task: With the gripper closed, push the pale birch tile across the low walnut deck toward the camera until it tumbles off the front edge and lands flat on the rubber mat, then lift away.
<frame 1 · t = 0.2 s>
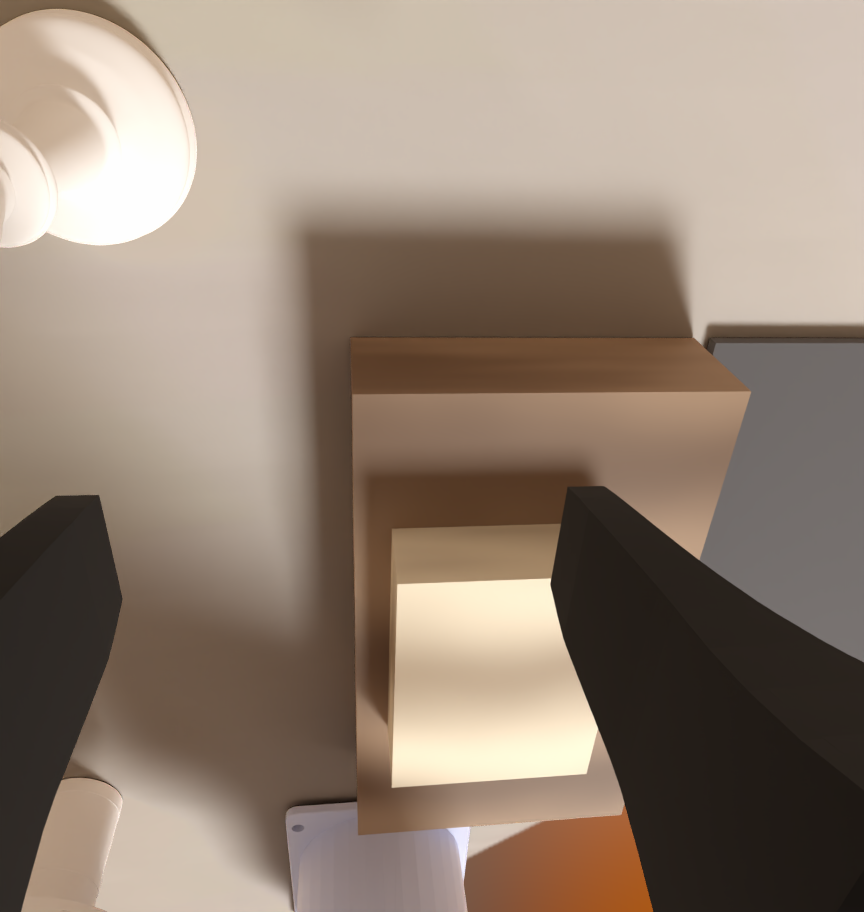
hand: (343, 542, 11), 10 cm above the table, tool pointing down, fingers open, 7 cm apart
birch tile: (489, 632, 22), point 3 cm above the table, touching walnut deck
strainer: (84, 796, 29), on the table
walnut deck: (497, 578, 25), on the table
chess piece: (89, 132, 17), on the table
rubber mat: (785, 567, 27), on the table
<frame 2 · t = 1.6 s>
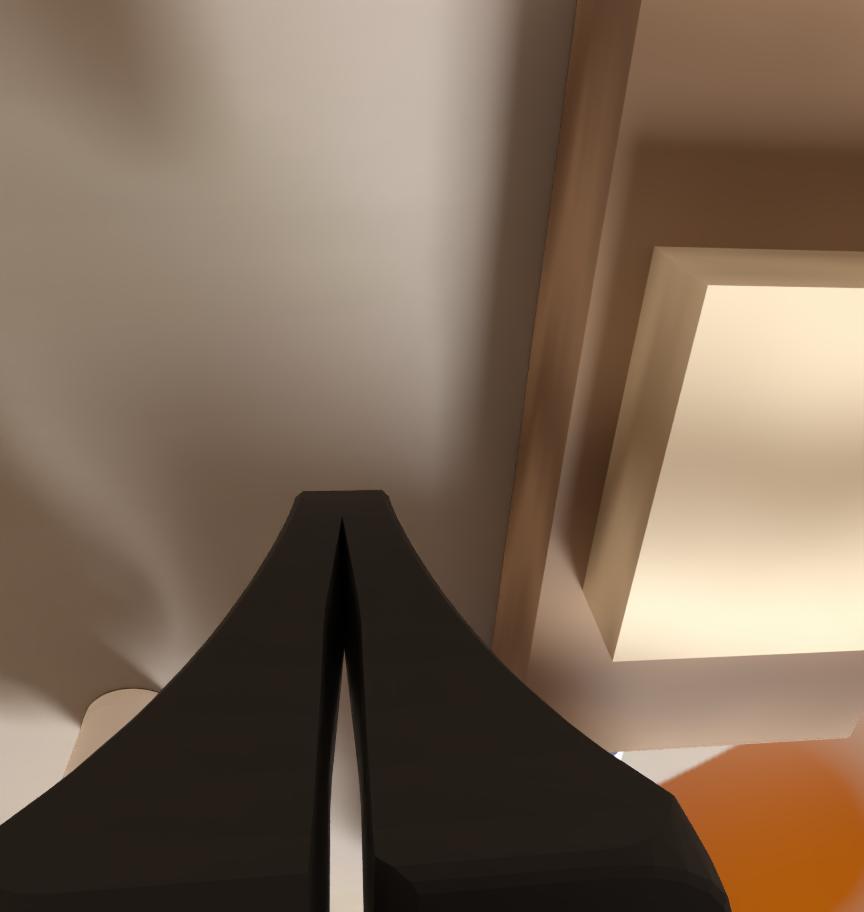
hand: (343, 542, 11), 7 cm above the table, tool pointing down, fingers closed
birch tile: (750, 441, 15), point 3 cm above the table, touching walnut deck
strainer: (138, 717, 23), on the table
walnut deck: (711, 407, 19), on the table
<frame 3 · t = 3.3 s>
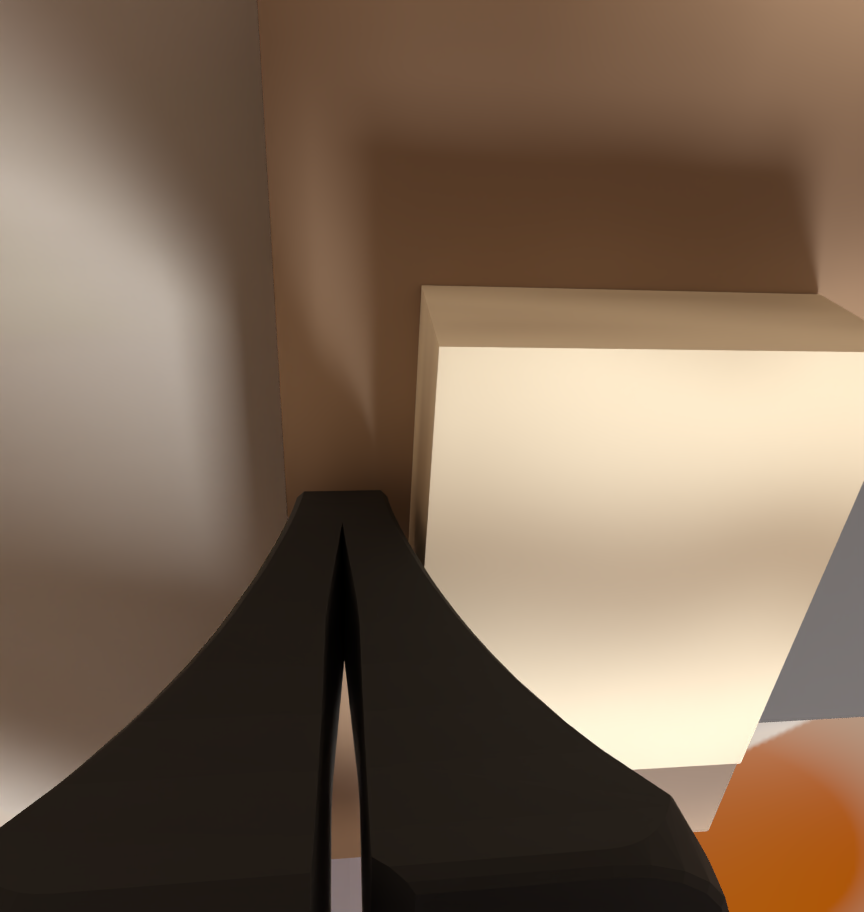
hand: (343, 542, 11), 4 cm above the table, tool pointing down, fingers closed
birch tile: (582, 514, 13), point 4 cm above the table
walnut deck: (528, 456, 16), on the table
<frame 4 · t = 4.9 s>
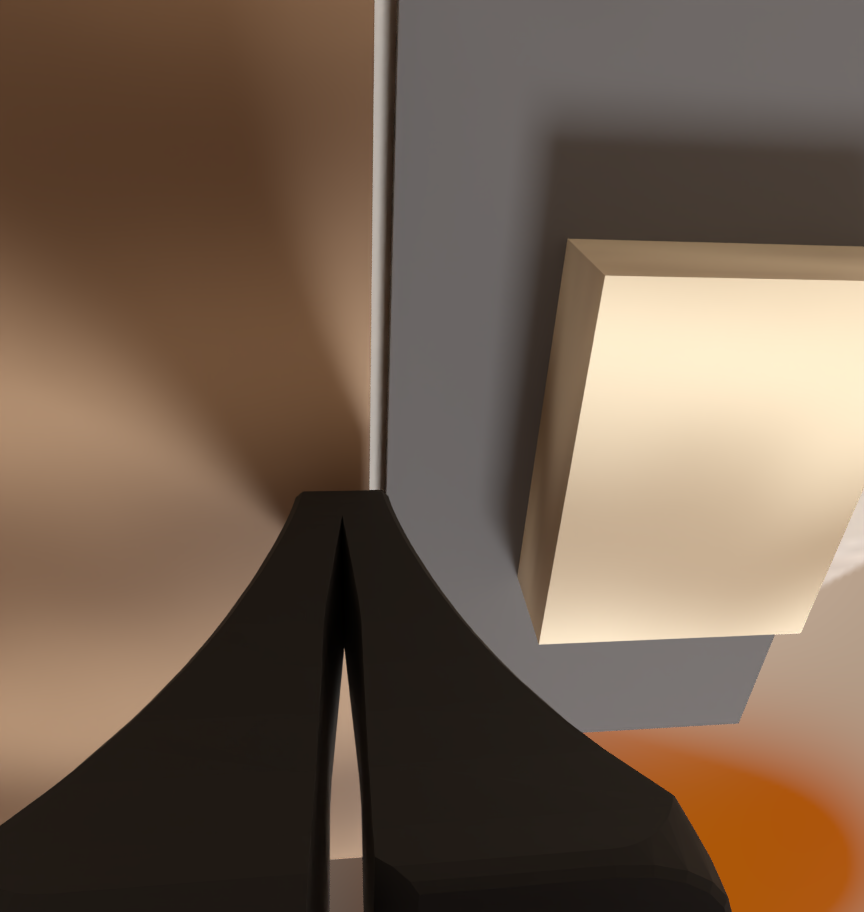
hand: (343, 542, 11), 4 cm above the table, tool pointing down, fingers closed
birch tile: (720, 486, 14), point 3 cm above the table, tilted 180°, touching rubber mat
walnut deck: (120, 461, 15), on the table
rubber mat: (619, 455, 16), on the table
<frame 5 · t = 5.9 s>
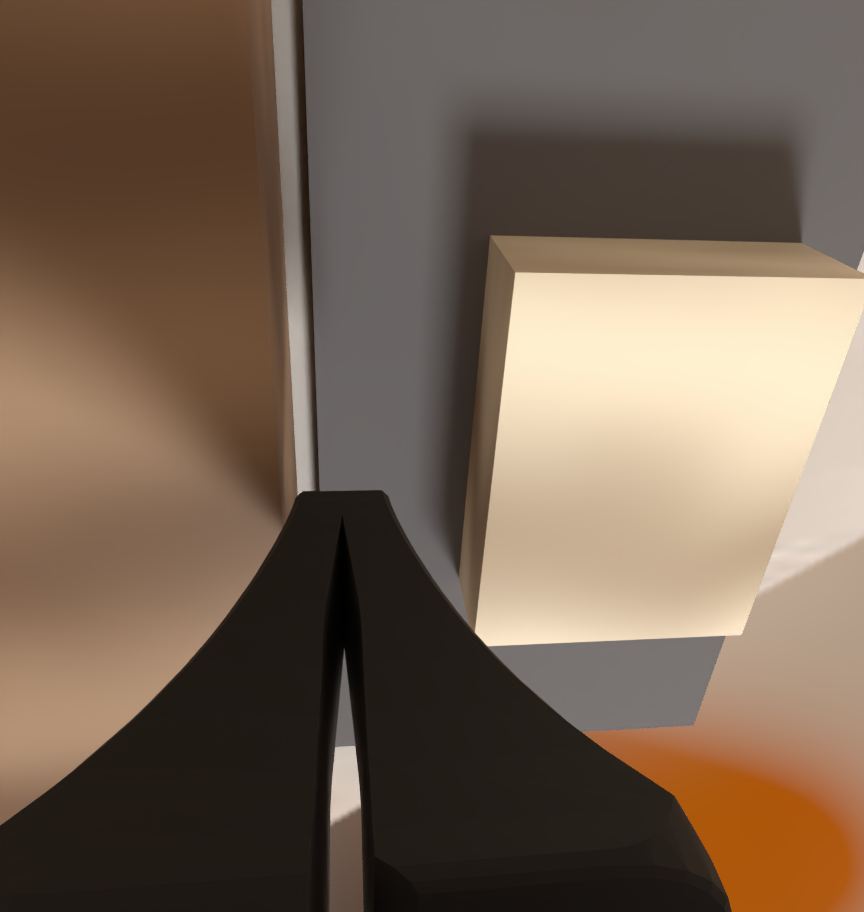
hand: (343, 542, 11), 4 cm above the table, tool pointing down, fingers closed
birch tile: (648, 486, 14), point 3 cm above the table, tilted 180°, touching rubber mat
walnut deck: (47, 461, 15), on the table
rubber mat: (558, 455, 16), on the table
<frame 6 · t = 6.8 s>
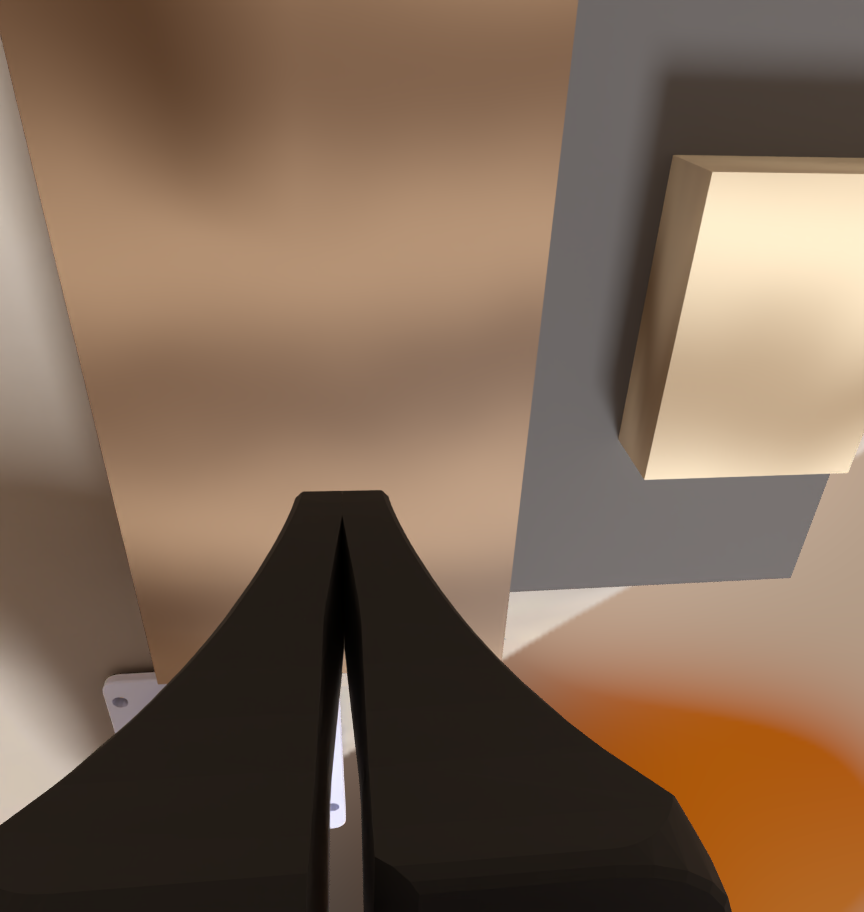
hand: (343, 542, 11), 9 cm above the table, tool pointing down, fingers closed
birch tile: (789, 342, 18), point 3 cm above the table, tilted 180°, touching rubber mat
walnut deck: (321, 341, 20), on the table
rubber mat: (701, 336, 21), on the table
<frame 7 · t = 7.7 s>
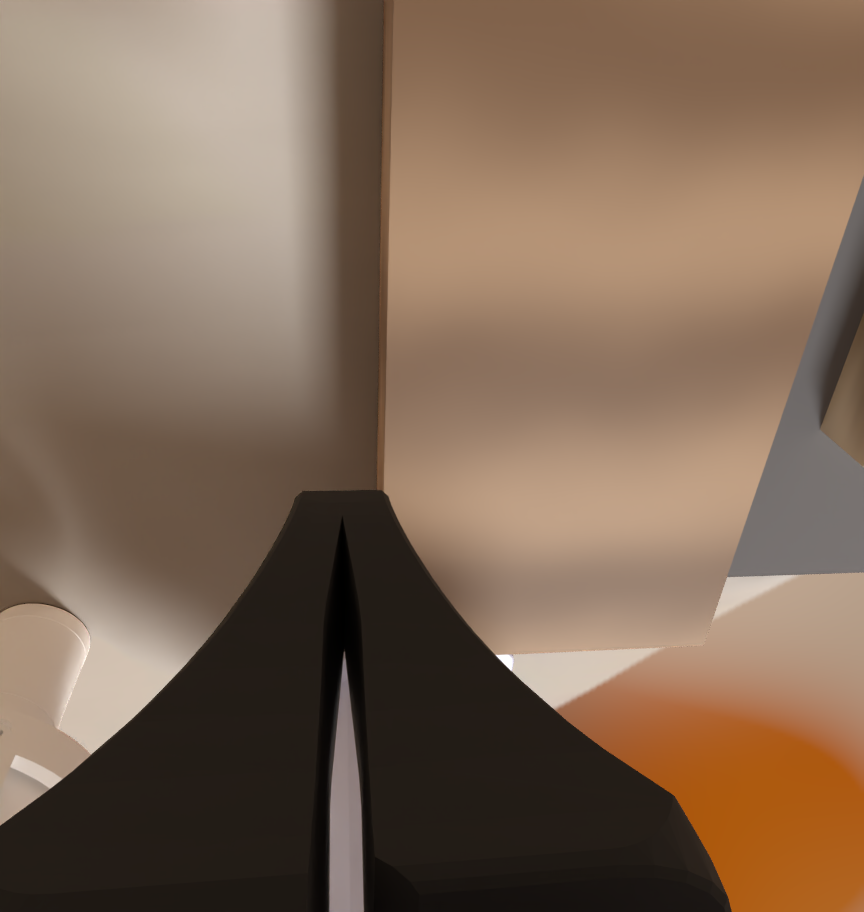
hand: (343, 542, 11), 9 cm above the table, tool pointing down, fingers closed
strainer: (43, 633, 24), on the table
walnut deck: (558, 327, 20), on the table
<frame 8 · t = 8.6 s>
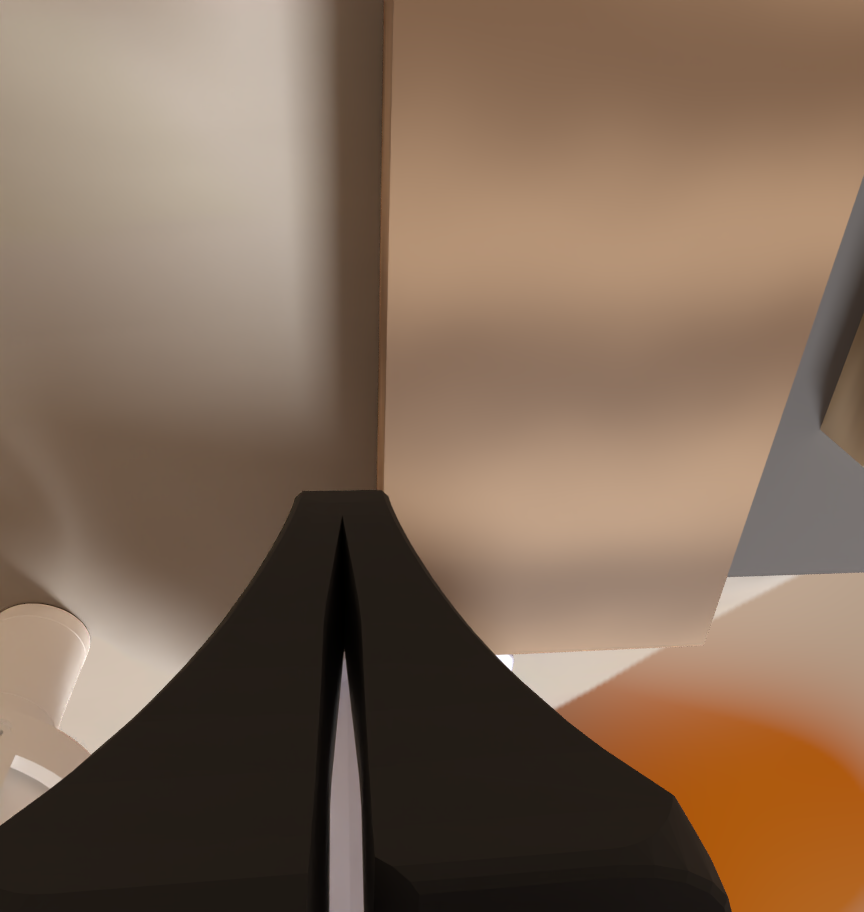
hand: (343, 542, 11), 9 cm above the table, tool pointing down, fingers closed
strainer: (43, 633, 24), on the table
walnut deck: (558, 327, 20), on the table
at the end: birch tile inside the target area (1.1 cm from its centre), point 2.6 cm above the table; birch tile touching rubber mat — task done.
